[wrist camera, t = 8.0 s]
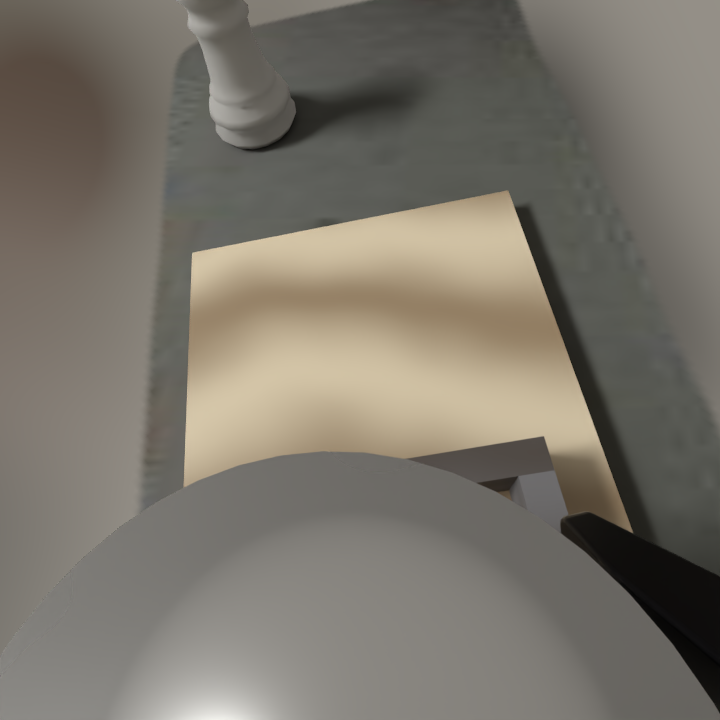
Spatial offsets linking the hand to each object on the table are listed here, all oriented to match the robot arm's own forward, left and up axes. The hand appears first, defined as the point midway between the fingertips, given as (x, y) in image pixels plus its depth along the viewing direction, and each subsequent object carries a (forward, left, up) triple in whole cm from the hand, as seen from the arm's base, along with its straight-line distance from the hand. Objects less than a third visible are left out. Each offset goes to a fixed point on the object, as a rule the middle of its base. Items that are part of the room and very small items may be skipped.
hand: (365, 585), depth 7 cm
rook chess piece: (+24, +4, -9) cm, 26 cm away
